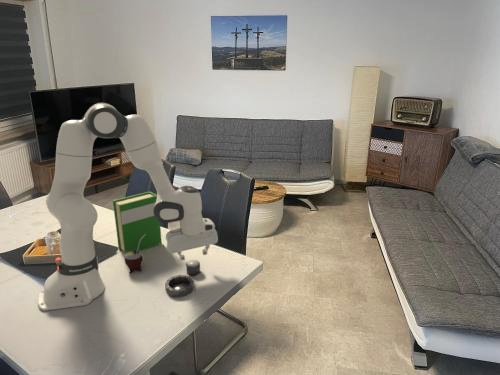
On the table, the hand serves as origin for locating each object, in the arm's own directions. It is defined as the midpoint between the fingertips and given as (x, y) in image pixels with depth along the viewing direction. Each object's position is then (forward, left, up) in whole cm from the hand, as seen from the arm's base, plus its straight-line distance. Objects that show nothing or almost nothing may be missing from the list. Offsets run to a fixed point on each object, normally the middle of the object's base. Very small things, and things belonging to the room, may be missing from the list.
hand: (193, 256), depth 153 cm
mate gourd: (-22, +11, -7) cm, 25 cm away
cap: (-1, -1, -7) cm, 7 cm away
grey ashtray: (-9, -10, -7) cm, 14 cm away
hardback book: (-17, +30, -7) cm, 35 cm away
